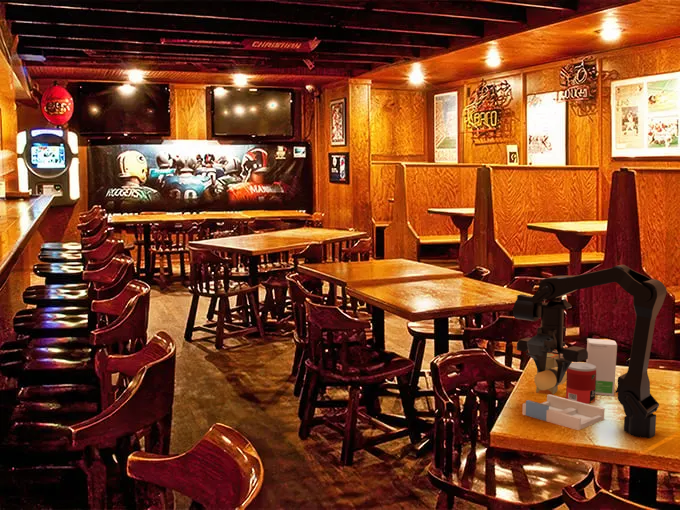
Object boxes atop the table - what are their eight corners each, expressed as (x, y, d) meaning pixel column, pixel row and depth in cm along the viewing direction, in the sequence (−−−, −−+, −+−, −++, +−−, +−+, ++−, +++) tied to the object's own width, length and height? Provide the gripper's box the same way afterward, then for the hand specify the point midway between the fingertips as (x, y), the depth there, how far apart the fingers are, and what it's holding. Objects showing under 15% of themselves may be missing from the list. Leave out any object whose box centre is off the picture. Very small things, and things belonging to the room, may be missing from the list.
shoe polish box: (536, 395, 227) (537, 355, 225) (541, 391, 231) (542, 352, 229) (553, 398, 224) (554, 357, 223) (557, 393, 228) (558, 354, 227)
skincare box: (585, 394, 228) (587, 342, 226) (584, 387, 234) (585, 337, 232) (615, 396, 226) (617, 344, 224) (613, 389, 232) (615, 339, 230)
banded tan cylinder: (550, 382, 211) (551, 365, 210) (566, 386, 207) (566, 368, 207) (534, 388, 206) (534, 370, 205) (549, 392, 202) (550, 373, 201)
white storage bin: (603, 423, 202) (604, 404, 202) (578, 434, 194) (579, 415, 193) (548, 408, 215) (549, 390, 214) (522, 418, 206) (522, 399, 206)
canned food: (596, 408, 215) (598, 369, 213) (566, 406, 216) (568, 368, 215) (593, 399, 222) (594, 362, 221) (564, 398, 224) (565, 361, 223)
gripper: (504, 322, 206) (503, 379, 208) (566, 333, 192) (564, 394, 194) (529, 317, 213) (527, 371, 215) (590, 327, 200) (588, 385, 201)
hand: (550, 380), depth 206 cm, fingers closed on banded tan cylinder, 5 cm apart
